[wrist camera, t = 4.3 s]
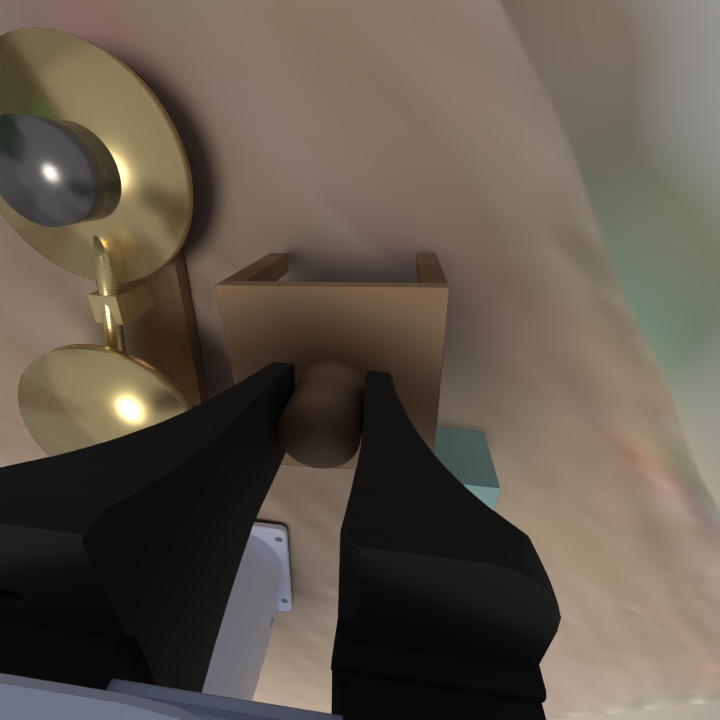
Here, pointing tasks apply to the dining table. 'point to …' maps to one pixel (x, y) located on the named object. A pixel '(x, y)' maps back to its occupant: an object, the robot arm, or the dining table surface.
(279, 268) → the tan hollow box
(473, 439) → the block
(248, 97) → the dining table surface
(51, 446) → the balance
